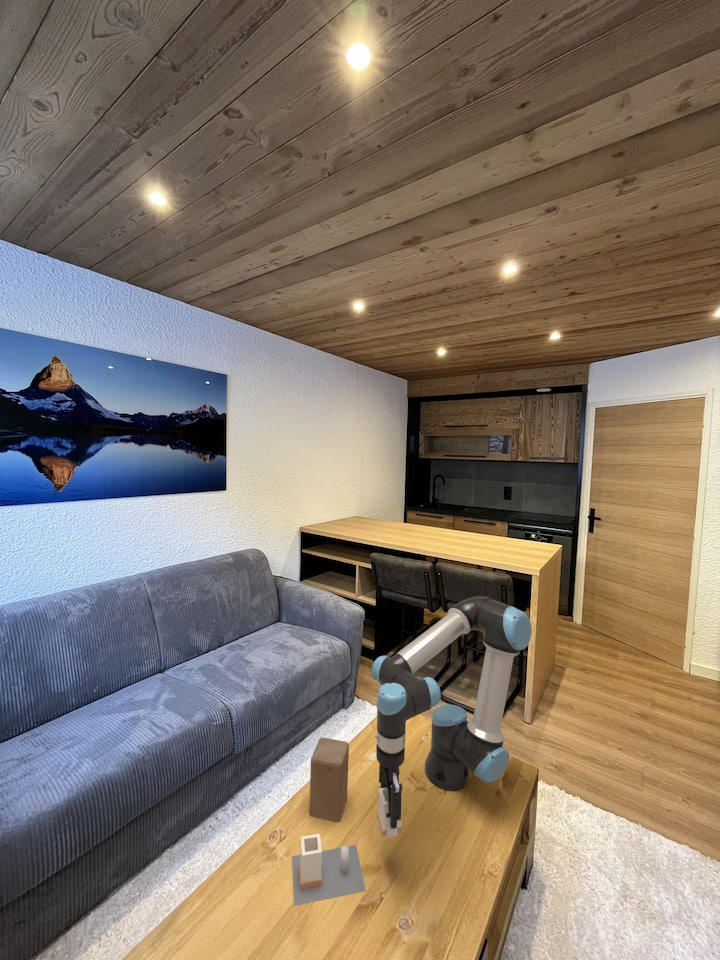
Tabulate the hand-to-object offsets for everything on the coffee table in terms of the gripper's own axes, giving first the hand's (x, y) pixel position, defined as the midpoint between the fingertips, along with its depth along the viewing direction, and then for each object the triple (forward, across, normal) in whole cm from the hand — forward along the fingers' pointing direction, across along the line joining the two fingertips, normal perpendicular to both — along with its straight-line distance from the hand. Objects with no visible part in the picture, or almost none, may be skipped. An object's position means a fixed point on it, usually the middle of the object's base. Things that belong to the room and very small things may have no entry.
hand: (388, 824), depth 108 cm
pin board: (+12, 0, -17) cm, 20 cm away
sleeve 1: (+10, 0, -21) cm, 24 cm away
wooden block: (+12, -20, -14) cm, 27 cm away
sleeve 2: (0, 0, 0) cm, 0 cm away
